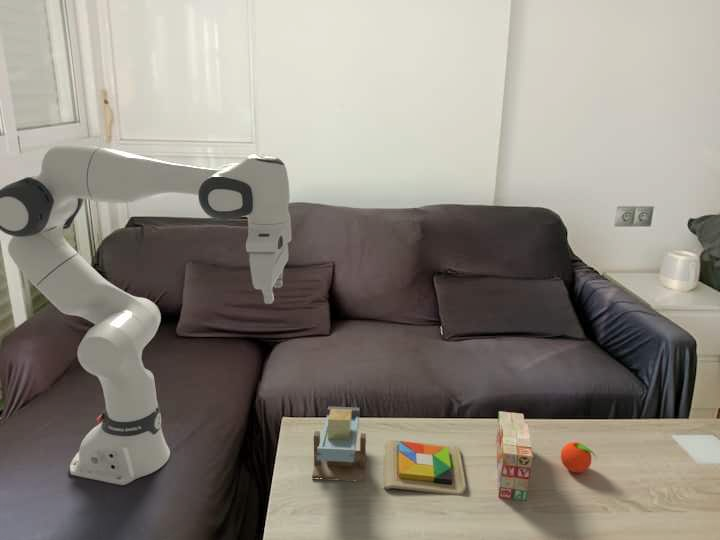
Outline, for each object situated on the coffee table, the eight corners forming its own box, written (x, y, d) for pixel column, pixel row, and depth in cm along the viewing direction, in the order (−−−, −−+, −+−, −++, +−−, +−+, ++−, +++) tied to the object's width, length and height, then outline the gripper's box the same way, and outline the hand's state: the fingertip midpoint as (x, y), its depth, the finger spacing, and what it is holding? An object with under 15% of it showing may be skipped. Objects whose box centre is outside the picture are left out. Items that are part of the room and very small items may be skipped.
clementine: (595, 467, 138) (600, 442, 136) (592, 484, 132) (596, 458, 130) (561, 456, 142) (565, 432, 139) (556, 473, 136) (560, 447, 134)
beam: (328, 418, 145) (328, 406, 145) (359, 419, 145) (359, 407, 145) (317, 460, 124) (317, 446, 123) (353, 462, 123) (353, 448, 123)
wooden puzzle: (466, 497, 128) (467, 484, 127) (383, 493, 129) (383, 480, 128) (458, 449, 145) (459, 437, 144) (384, 445, 146) (384, 434, 145)
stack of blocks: (495, 441, 148) (499, 400, 144) (520, 444, 146) (525, 403, 142) (498, 498, 128) (503, 452, 124) (527, 502, 127) (533, 456, 123)
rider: (330, 428, 137) (330, 408, 136) (351, 429, 137) (351, 409, 136) (327, 439, 131) (328, 419, 130) (349, 440, 131) (349, 420, 130)
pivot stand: (317, 452, 142) (316, 421, 139) (366, 454, 141) (366, 423, 139) (311, 479, 133) (311, 446, 130) (364, 481, 132) (364, 449, 129)
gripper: (266, 221, 130) (269, 278, 134) (243, 246, 110) (248, 312, 115) (293, 221, 129) (296, 278, 134) (275, 246, 110) (279, 312, 114)
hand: (273, 294), depth 124 cm, fingers open, 8 cm apart
